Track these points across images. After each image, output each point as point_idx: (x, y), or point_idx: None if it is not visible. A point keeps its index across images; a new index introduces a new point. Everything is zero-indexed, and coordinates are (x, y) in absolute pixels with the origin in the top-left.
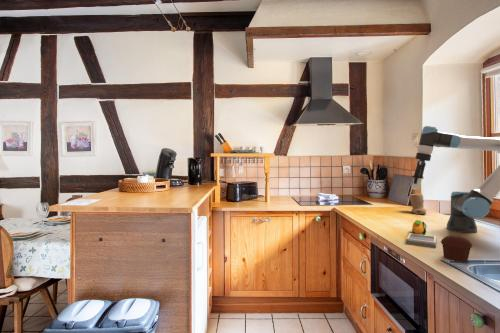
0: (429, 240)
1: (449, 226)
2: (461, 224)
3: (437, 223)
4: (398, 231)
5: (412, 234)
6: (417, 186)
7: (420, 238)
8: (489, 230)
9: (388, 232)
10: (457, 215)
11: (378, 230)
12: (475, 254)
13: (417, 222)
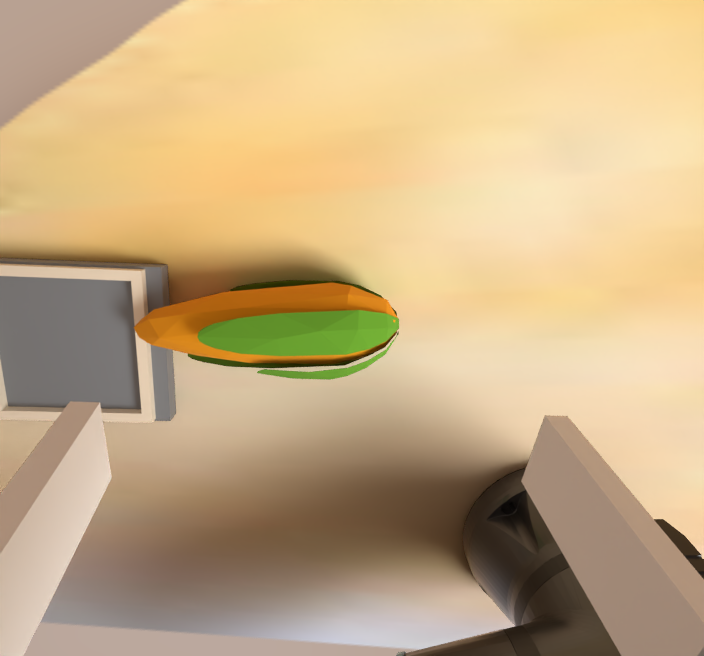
0: (64, 386)
1: (511, 488)
2: (484, 562)
3: (670, 417)
4: (285, 186)
5: (133, 290)
6: (553, 485)
7: (81, 338)
8: None
9: (209, 117)
10: (528, 587)
11: (231, 31)
12: None
13: (239, 333)
